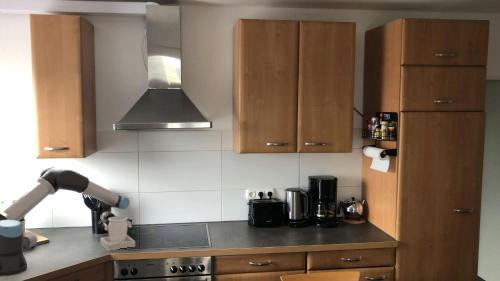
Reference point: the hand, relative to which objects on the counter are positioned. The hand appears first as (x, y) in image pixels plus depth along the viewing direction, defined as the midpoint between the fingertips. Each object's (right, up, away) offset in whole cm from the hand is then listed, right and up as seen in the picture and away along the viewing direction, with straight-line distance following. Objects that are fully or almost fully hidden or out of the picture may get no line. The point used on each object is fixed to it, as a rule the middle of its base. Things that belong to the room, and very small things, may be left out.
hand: (119, 226), depth 250 cm
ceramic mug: (-50, -11, -7) cm, 52 cm away
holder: (-1, -11, +2) cm, 11 cm away
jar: (-1, -10, +2) cm, 11 cm away
